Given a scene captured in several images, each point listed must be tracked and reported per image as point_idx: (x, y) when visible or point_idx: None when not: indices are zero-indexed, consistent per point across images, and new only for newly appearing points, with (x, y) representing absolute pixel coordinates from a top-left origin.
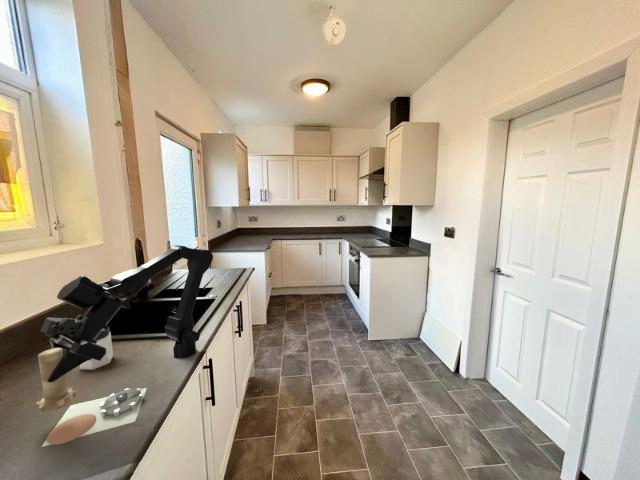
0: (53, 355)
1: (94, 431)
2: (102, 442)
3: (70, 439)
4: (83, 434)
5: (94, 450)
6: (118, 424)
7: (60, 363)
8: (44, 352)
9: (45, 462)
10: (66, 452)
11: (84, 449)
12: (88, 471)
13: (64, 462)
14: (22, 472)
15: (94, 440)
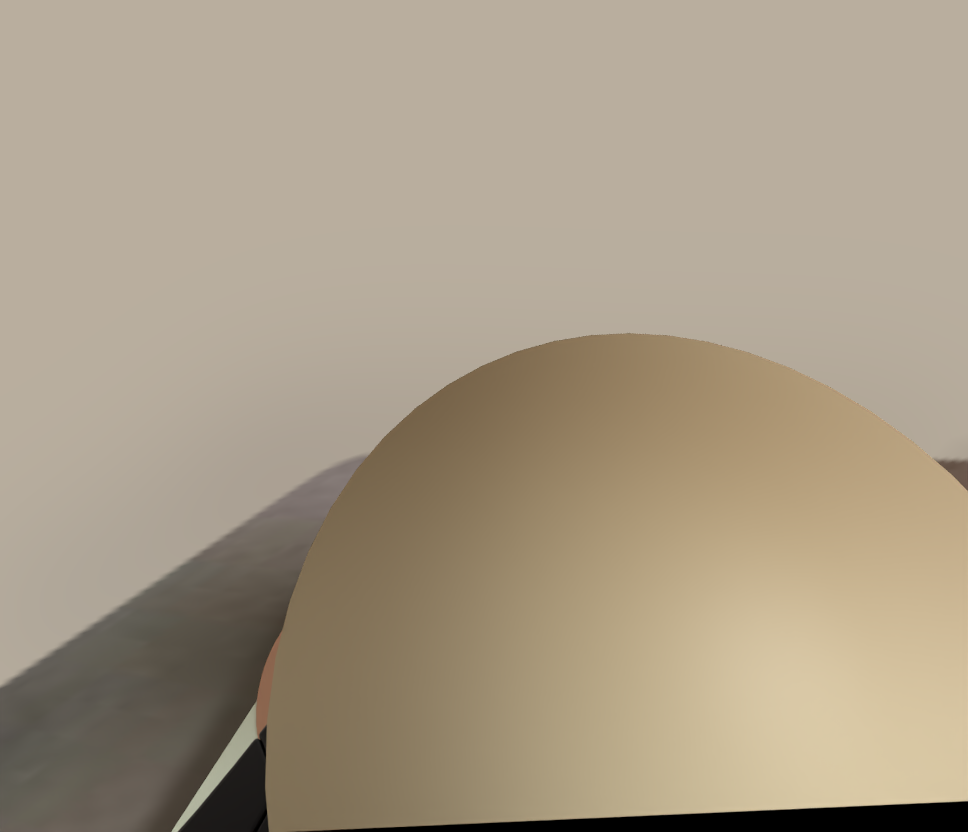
0: (297, 727)
1: (217, 783)
2: (139, 795)
3: (274, 661)
4: (253, 725)
5: (124, 743)
6: None
7: (232, 810)
8: (837, 493)
9: (276, 558)
10: (252, 634)
11: (185, 704)
12: (21, 687)
13: (193, 617)
14: (302, 492)
15: (201, 763)
